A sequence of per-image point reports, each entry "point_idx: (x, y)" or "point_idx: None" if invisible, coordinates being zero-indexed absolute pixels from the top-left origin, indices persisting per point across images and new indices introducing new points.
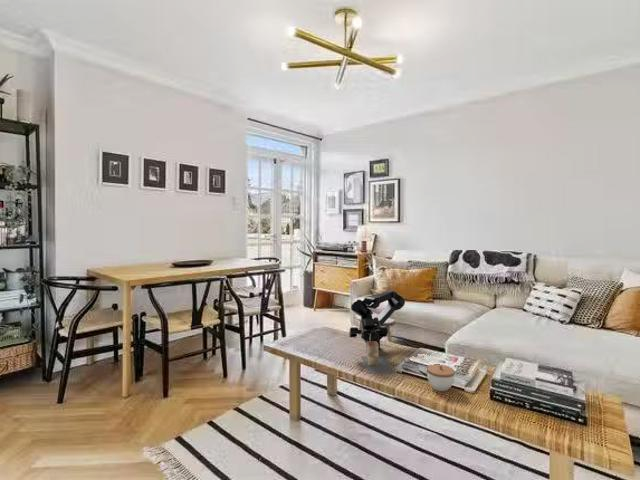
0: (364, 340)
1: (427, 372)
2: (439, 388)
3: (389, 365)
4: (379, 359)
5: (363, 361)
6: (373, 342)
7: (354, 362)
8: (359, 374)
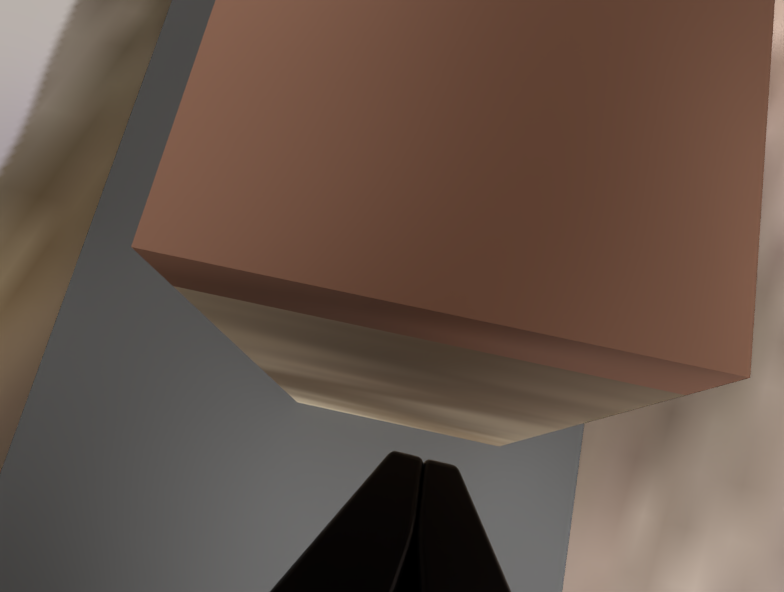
0: None
1: None
2: None
3: (139, 149)
4: (170, 483)
5: (568, 473)
6: (430, 60)
7: (753, 531)
8: (781, 20)
